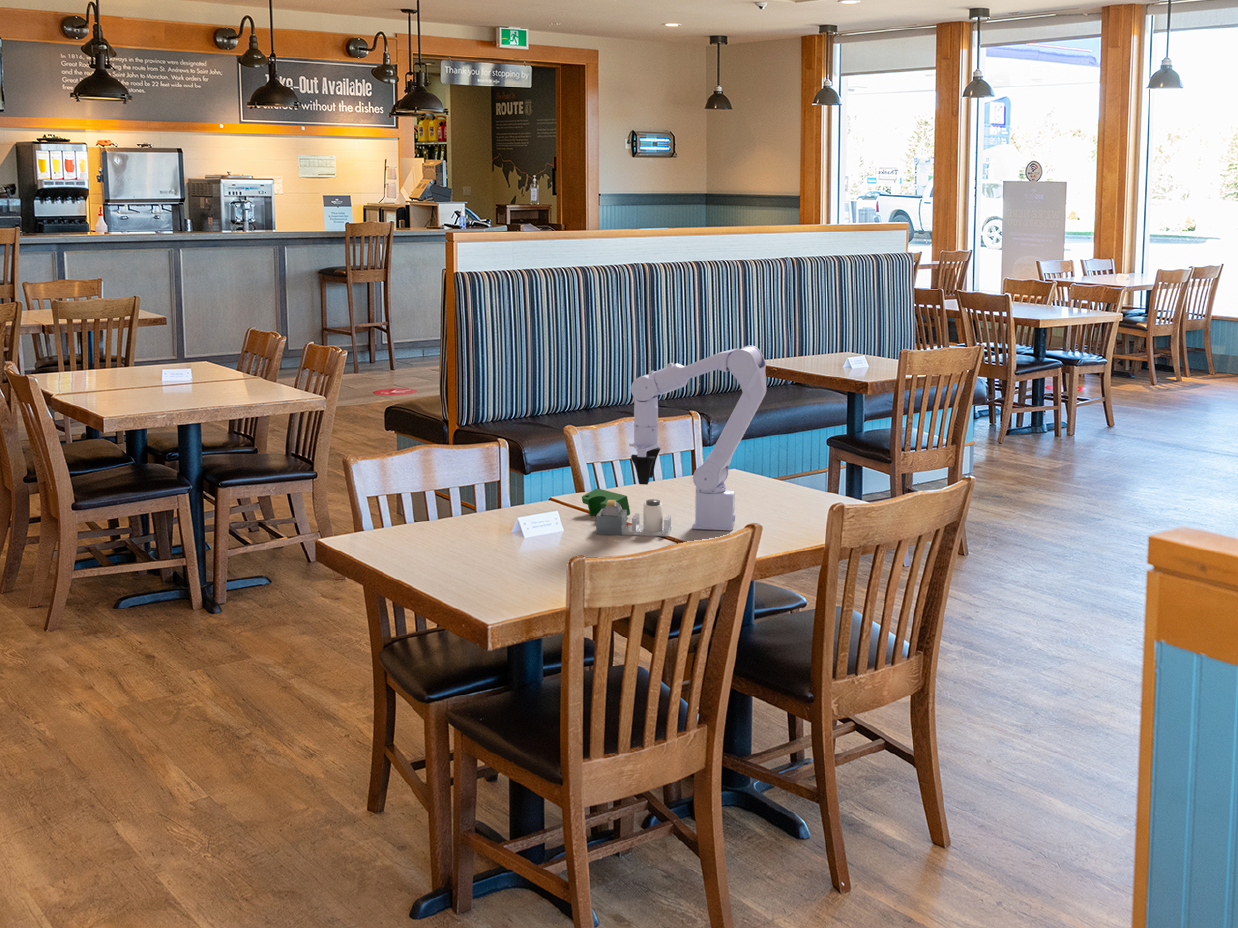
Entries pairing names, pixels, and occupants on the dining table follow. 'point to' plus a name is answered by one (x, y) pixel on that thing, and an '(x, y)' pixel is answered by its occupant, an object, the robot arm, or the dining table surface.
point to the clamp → (603, 500)
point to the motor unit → (624, 522)
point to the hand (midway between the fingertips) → (645, 480)
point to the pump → (653, 515)
